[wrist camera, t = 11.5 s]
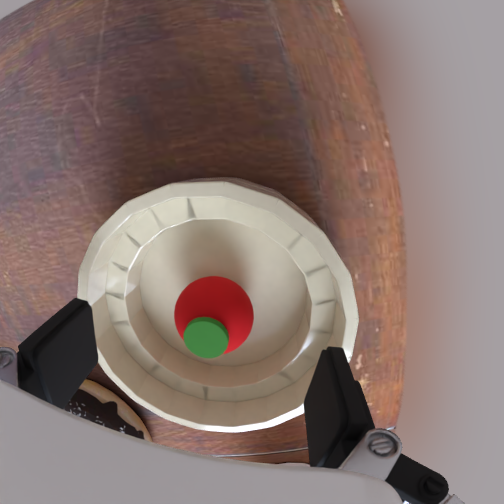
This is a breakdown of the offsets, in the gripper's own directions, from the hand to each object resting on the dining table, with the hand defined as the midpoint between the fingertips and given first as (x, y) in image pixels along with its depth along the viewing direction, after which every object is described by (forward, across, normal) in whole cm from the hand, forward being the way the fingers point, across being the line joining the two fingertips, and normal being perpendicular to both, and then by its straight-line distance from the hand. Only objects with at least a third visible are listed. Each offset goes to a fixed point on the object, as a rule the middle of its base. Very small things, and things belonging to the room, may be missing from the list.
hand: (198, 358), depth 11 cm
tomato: (+6, 0, 0) cm, 6 cm away
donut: (+7, +10, +16) cm, 20 cm away
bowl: (+7, 0, 0) cm, 7 cm away
